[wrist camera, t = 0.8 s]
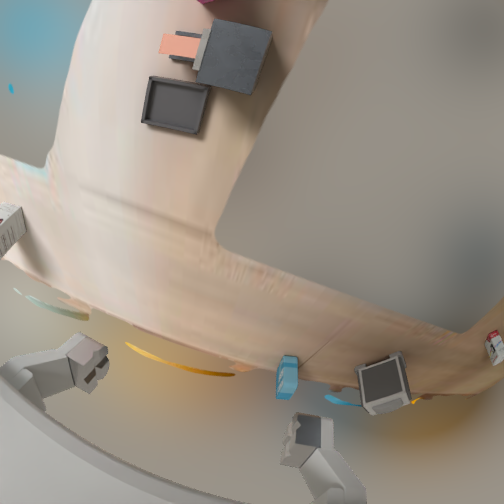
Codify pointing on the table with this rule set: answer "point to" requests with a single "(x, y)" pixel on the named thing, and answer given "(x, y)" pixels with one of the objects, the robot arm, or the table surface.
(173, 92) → the tray
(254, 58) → the dispenser
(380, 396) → the alarm clock
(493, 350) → the ink box
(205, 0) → the gum box
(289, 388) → the data package
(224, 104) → the table surface
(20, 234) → the supplement box
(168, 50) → the salmon pink tall block
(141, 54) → the table surface
